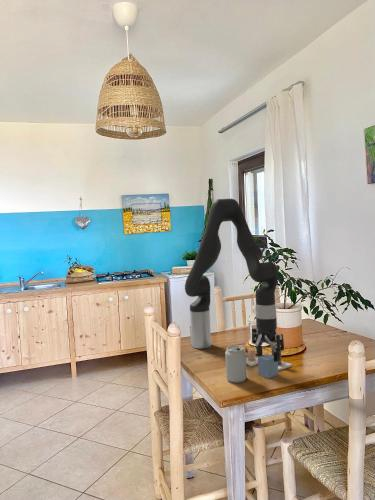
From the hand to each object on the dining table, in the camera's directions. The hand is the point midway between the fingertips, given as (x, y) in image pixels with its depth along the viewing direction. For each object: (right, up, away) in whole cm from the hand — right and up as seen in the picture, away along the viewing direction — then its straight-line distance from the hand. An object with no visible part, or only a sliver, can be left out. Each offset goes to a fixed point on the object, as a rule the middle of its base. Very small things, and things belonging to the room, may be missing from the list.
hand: (268, 358), depth 147 cm
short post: (-4, -5, +15) cm, 16 cm away
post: (+5, -5, +9) cm, 12 cm away
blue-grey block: (0, -6, +1) cm, 6 cm away
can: (-12, -7, -2) cm, 14 cm away
